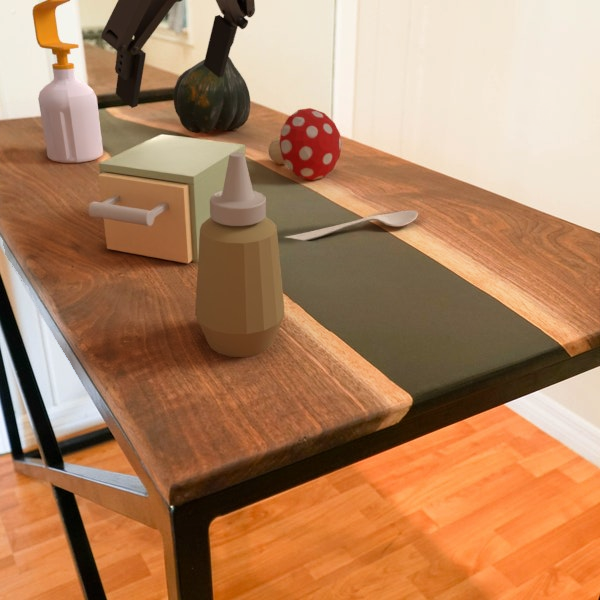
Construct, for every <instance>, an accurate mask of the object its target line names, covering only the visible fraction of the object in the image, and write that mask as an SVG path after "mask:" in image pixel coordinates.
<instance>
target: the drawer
mask: <svg viewBox="0 0 600 600" xmlns="http://www.w3.org/2000/svg"><path fill="white" fill-rule="evenodd" d="M97 179H98V187H99V194H100V195H99V196H100V202H99V201H92V202H90V203H89V205H88V215H89V216H90V217H92V218H97V219H103V227H104V232H105V233H104V234H105V242H106V243H105V244H106V250H107V249H108V250H113V251H117V252H123V253H128V254H134V255H139V256H144V257H151V258H154V259H155V258H156V259H160V260H166V261H171V262H177V263H182V264H190V263H191V262H193V261H192V260H193V251H192V234H191V216H190V199H189V185H187V183H180V182H173V181H166V180H160V179H153V178H146V177H139V176H132V175H125V174H119V173H118V174H112V173H105V172H104V173H102V174H100V173H99V174H98V175H97Z"/></svg>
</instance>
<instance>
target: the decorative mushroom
mask: <svg viewBox="0 0 600 600" xmlns="http://www.w3.org/2000/svg"><path fill="white" fill-rule="evenodd" d="M341 151H342V138H341V133H340V131H339V129H338V127H337V125H336V123H335V122H334V121H333V120H332V118H331V117H329V116H328V115H327V114H326V113H325V112H323V111H320V110H317V109H314V108H311V107H309V108H300V109H297V110H296V111H295V112H293V113H292V114H290V115H289V116H288V117H287V119H286V120H285V122H284V124H283V126H282V127H281V129H280V135H279V137H277V138H274V139H273V140H271V142H270V144H269V146H268V156H269V158H270V159H271V161H272V162H274V163H275V164H277V165H284V164H285V165H286V167H287V169H288V170H289V171H291V172H292V173H293V174H295V176H297V177H299V178H301V179H305V180H308V181H315V180H320V179H323V178H325V177H326V176H327V175H328V174H330V173H331V172H332V171H334V169H335V167H336V166H337V163H338V161H339V160H340V156H341Z"/></svg>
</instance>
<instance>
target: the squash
mask: <svg viewBox="0 0 600 600" xmlns="http://www.w3.org/2000/svg"><path fill="white" fill-rule="evenodd" d="M204 61H205V59H202V60H201V61H199V62H198V63H196V64H194V65H193V66H192V67H190V68H188V69H187V70H185V71H184V72H182V73H181V74H180V76H179V77H178V78H177V79H176V82H175V85H174V88H173V95H172V96H173V106H174V110H175V112H176V115H177V117H178V118H179V121H180V124H181V125H182V126H183V127H184V129H185V130H186V131H188V132H190V133H193V134H198V133H203V134H210V133H213V132H214V131H215V130H216V131H219V132H220V131H226V130H227V131H233V130H237V129H239V128H241V127H242V126H244V125H245V124H246V122H247V121H248V119H249V116H250V112H251V96H250V91H249V87H248V85H247V83H246V81H245V78H244V77H243V75H242V74H241V73H240V71H239V70H238V69H237V67H236V66H235V64H234V62H233V61H232V59H231V57H229V56H228V60H227V64H226V67H225V71H224V75H223V76H222V77H218V76H216V75H215V74H214V73H213V72H211V71H210V70H209V69H208V68H207V67H205V66H204Z"/></svg>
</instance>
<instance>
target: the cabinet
mask: <svg viewBox="0 0 600 600" xmlns="http://www.w3.org/2000/svg"><path fill="white" fill-rule="evenodd" d="M235 152H239V153H243V154H244V155H245V156H246V144H245V143H244V144H242V143H236V142H228V141H219V140H212V139H204V138H196V137H187V136H180V135H179V136H178V135H171V134H164V133H161V134H158V135H156V136H155V137H152V138H150V139H147V140H145V141H144V142H141V143H139V144H136V145H135V146H133V147H130V148H128V149H126V150H124V151H122V152H120V153H118V154H115V155H114V156H111V157H109V158H107V159H105V160H102V161H100V162H98V169H99V175H100V174H102V173H104V172H105V173H112V174H118V173H119V174H125V175H132V176H139V177H146V178H153V179H160V180H166V181H173V182H180V183H187V185H189V199H190V216H191V234H192V251H193V260H192V261H191V262H193V263H198V255H199V236H200V228H201V225H202V224H203V223H204V222H205V221H206V220H208V219H209V218H210V198H211V196H212V195H214V194H215V193H217V192H220V191H223V188H224V182H225V177H226V172H227V166H228V161H229V156H230V154H231V153H235ZM246 158H247V157H245V159H246ZM246 160H247V159H246Z"/></svg>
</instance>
